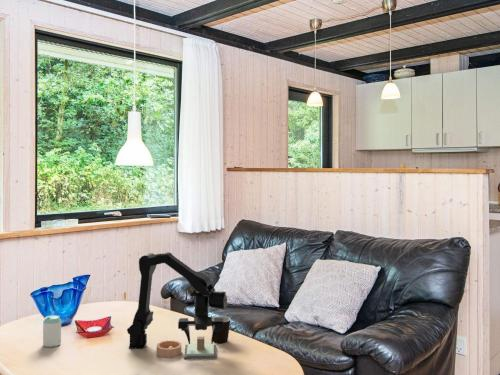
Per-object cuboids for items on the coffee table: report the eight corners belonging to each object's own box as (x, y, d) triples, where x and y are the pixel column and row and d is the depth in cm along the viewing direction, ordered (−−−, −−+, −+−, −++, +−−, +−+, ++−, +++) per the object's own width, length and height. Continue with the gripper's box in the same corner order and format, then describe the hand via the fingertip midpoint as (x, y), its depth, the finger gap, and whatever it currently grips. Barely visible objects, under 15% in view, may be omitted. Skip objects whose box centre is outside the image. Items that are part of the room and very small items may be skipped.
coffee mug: (227, 345, 207) (227, 322, 207) (208, 343, 209) (208, 321, 209) (233, 336, 219) (234, 315, 218) (215, 334, 220) (215, 313, 220)
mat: (184, 359, 191) (184, 356, 191) (185, 347, 204) (185, 344, 204) (216, 358, 193) (216, 356, 193) (216, 346, 206) (216, 344, 206)
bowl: (155, 358, 192) (155, 349, 192) (157, 348, 202) (158, 340, 202) (180, 357, 193) (180, 349, 193) (181, 348, 203) (182, 340, 203)
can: (54, 348, 199) (54, 320, 199) (39, 347, 200) (39, 318, 200) (64, 342, 206) (64, 315, 205) (49, 341, 207) (49, 313, 207)
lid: (186, 355, 192) (186, 342, 192) (187, 345, 203) (187, 333, 203) (214, 355, 193) (214, 342, 193) (213, 345, 204) (213, 333, 204)
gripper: (177, 312, 189) (176, 351, 189) (224, 312, 191) (223, 351, 191) (179, 304, 200) (178, 341, 201) (223, 304, 202) (222, 340, 202)
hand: (200, 343), depth 198 cm, fingers open, 9 cm apart
